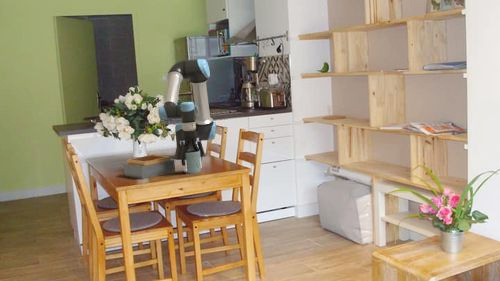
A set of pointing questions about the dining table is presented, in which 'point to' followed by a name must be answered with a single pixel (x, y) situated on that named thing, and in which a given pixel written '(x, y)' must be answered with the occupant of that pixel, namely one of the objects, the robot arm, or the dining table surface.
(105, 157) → the dining table surface
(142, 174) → the grey rectangular box
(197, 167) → the green tapered cup
